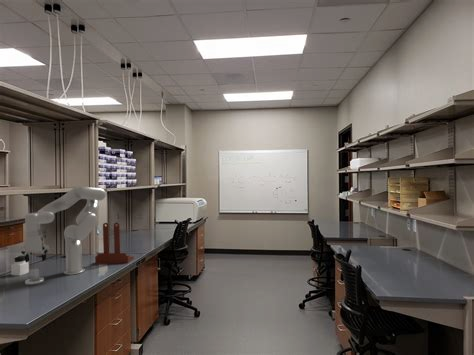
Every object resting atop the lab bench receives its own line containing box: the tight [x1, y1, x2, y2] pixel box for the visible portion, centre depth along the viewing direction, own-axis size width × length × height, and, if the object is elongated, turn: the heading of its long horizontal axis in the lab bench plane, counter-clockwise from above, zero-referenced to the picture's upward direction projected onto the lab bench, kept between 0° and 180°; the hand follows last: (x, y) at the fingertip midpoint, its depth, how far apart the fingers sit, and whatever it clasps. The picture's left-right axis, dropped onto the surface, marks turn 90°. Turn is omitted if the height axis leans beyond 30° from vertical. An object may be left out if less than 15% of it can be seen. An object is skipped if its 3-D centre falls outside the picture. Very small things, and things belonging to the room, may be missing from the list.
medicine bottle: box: [10, 255, 30, 276], centre depth 224 cm, size 7×7×12 cm
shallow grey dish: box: [24, 276, 45, 286], centre depth 204 cm, size 10×10×2 cm
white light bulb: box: [27, 268, 40, 281], centre depth 203 cm, size 6×5×6 cm
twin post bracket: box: [94, 222, 135, 265], centre depth 251 cm, size 24×13×30 cm, turn 89°
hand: (35, 261), depth 205 cm, fingers open, 9 cm apart
